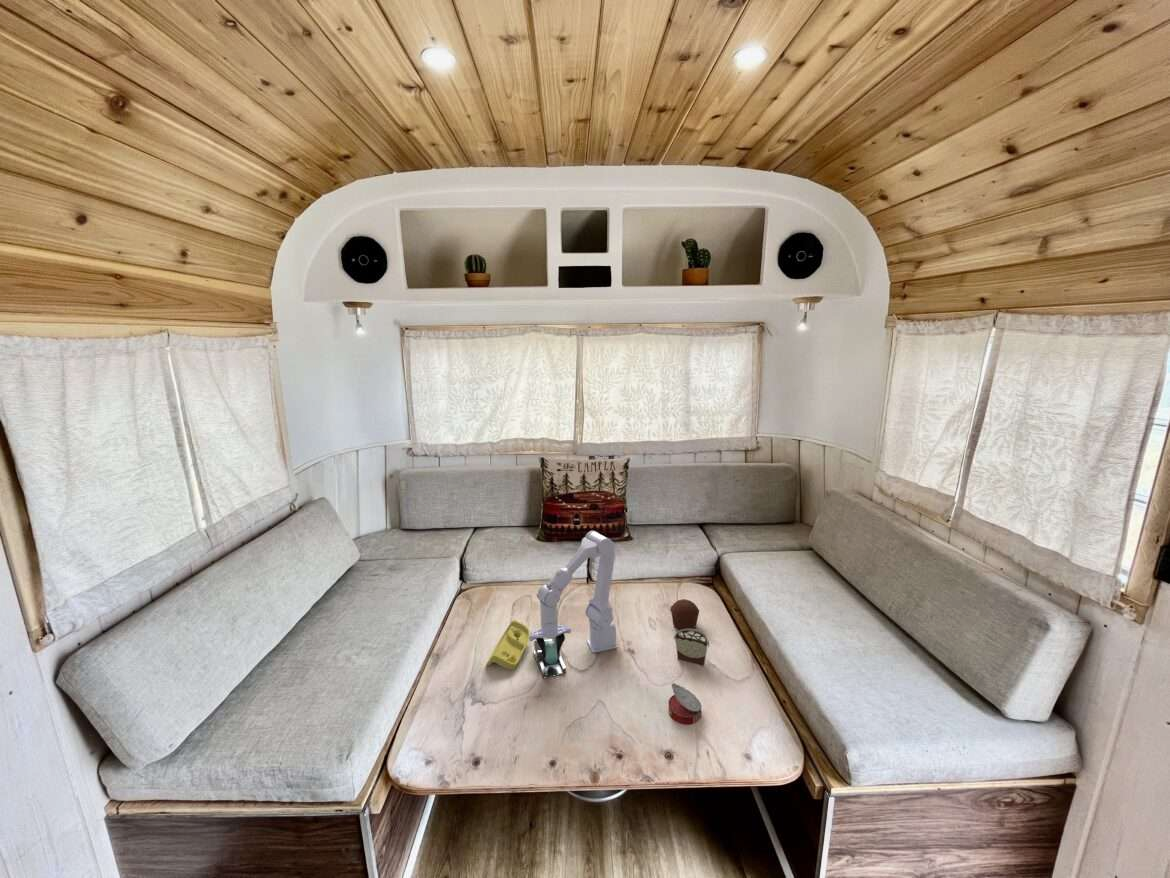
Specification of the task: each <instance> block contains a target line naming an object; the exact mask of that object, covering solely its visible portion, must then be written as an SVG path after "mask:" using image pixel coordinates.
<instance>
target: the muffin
mask: <svg viewBox="0 0 1170 878" xmlns="http://www.w3.org/2000/svg"><path fill="white" fill-rule="evenodd" d="M669 611H670V612H671V618H672V624H673V628H675V629H676V630H677V631H679V630H682V629H696V627H697V624H698V623H697V622H698V619H699V618H698V617H699V614H700V609H699V608H698V606H697V605H696V603H695V602H693V601H691V600H689V599H684V598H683V599H679V600H676V601H675V602H674V603H673V604H672V605H671V606H670V610H669Z"/></svg>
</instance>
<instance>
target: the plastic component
mask: <svg viewBox="0 0 1170 878" xmlns="http://www.w3.org/2000/svg"><path fill="white" fill-rule="evenodd" d="M529 633H531V630H530V629H529V628H528V626H527V625H525V624H524V623H521V622H520V621H518V620H511V622H510V624H509V625H508V627H507V628H506V629H505V631H504V632H503V635H502V636H501V637H500V639H499V641H498V642H497V644H496V646H495V647H494V649H493V651H492V653H491V655H490V657H489V658H488V660H487V661H486V663H485V666H487V667H489V666H491V664H492V663H496V664H497V665H499V666H501V667H503V668H505V669H507V670H509V671H512V669H513V670H515V669H516V668H517V665H518V663H519V661H520V660H521V658H522V655H523V653H524V651H525V648H526V647H527V645H528V643H529V641H530V640H529ZM514 668H515V669H514Z"/></svg>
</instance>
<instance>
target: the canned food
mask: <svg viewBox="0 0 1170 878" xmlns="http://www.w3.org/2000/svg"><path fill="white" fill-rule="evenodd" d="M671 688H672V692H673V693H674V694H673V695H672V696H670V698H669V700H668V715H669V716H670V718H671V719H672V720H673V721H674V722H676V723H678V724H680V725H685V726H690V725H694V724H695V725H696V723H698V722H699V721H700V719H701V718H702V703H701V701H700V700H699V699H698V698H697V696H696V695H695V694H694V693H692V692H691V691H690V690H689V689H686V687H684V686H681V685H679V684H677V683H676V682H675V683H674V682H672V684H671Z"/></svg>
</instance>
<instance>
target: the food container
mask: <svg viewBox="0 0 1170 878" xmlns="http://www.w3.org/2000/svg"><path fill="white" fill-rule="evenodd" d="M673 640H675V647H676V656H677V658H676V659H677V661H679V662H685V663H689V664H692V665H695V666H701V667H705V663H706V658H707V657H706V656H707V649H708V648H710V642H709V641H710V640H709V638H708V636H707V634H705V633H704V632H702V631H701V630H699V629H696V628H694V629H682V630H677V631H676V633H675V634H674V636H673Z"/></svg>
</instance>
